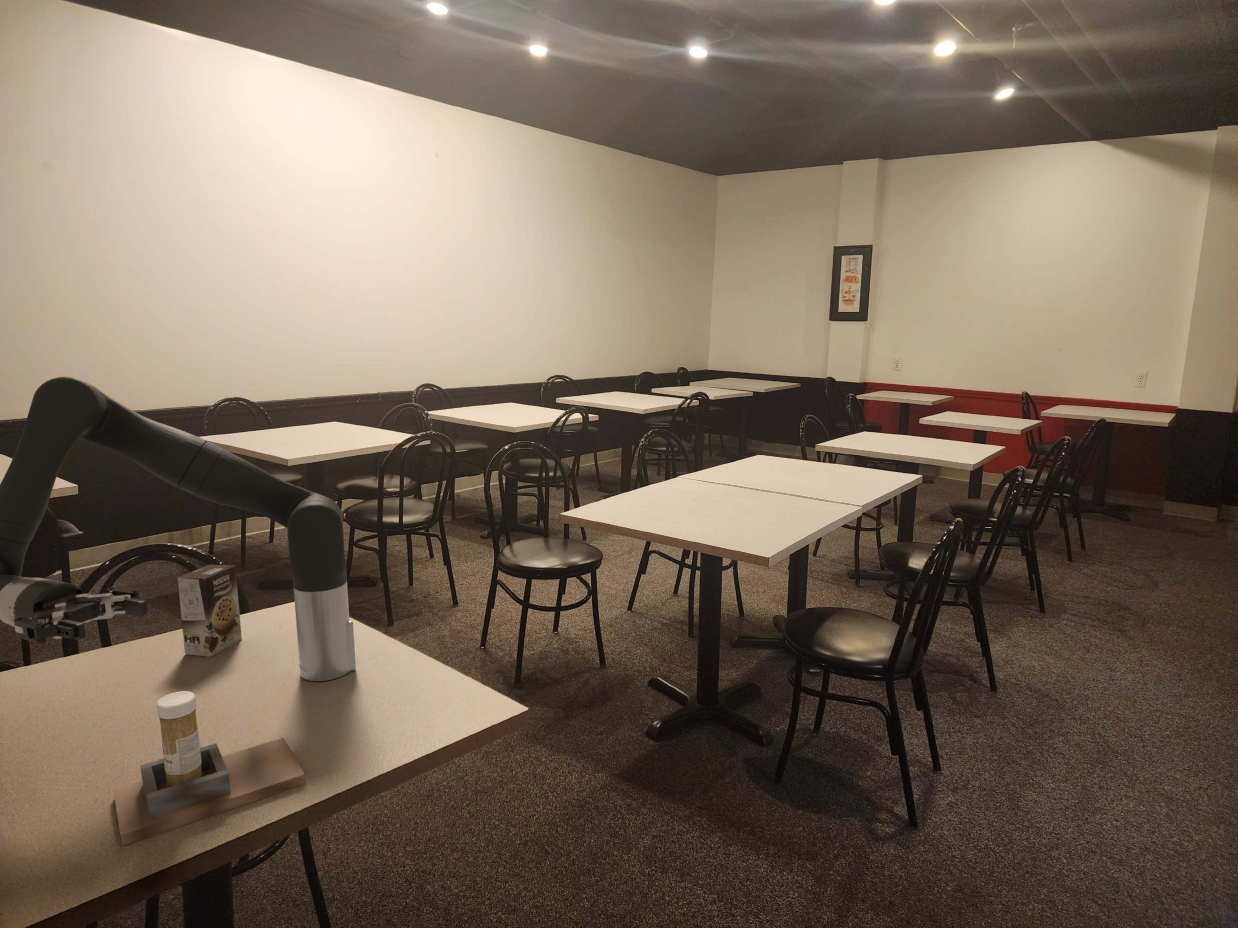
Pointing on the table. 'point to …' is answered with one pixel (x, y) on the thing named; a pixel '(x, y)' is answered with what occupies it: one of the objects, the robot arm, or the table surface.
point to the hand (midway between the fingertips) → (114, 619)
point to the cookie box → (209, 609)
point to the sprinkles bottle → (180, 737)
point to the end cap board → (204, 788)
